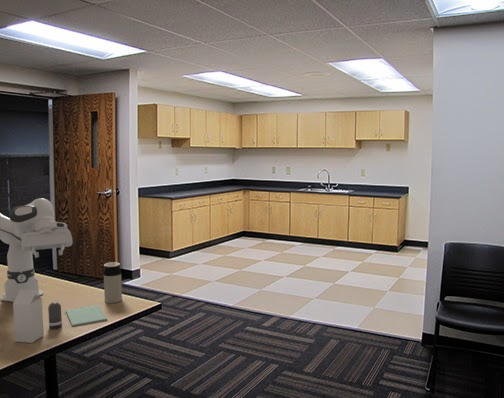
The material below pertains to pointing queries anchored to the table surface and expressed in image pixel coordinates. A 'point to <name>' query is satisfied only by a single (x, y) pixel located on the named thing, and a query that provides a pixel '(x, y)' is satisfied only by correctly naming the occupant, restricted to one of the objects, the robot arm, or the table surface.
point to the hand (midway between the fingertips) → (49, 255)
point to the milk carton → (28, 317)
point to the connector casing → (55, 316)
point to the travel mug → (112, 282)
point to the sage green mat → (86, 315)
